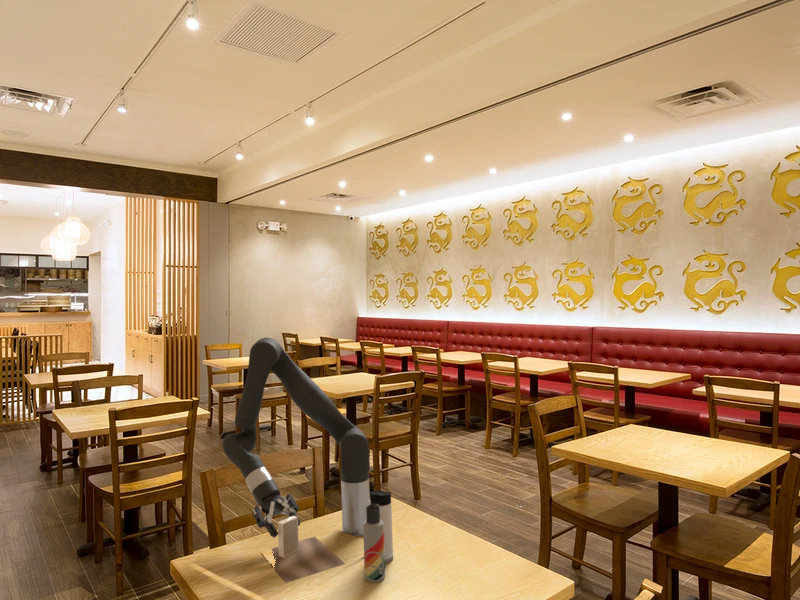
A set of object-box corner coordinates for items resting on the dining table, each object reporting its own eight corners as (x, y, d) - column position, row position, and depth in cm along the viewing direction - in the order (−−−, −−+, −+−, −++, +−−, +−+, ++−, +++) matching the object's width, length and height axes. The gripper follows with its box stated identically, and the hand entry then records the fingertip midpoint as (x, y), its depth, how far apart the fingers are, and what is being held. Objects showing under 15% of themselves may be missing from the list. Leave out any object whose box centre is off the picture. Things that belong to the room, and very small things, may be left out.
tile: (278, 556, 160) (277, 522, 160) (294, 548, 165) (293, 515, 165) (283, 557, 159) (282, 523, 159) (298, 550, 164) (297, 517, 164)
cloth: (314, 539, 173) (314, 536, 173) (345, 567, 154) (345, 563, 154) (259, 555, 163) (259, 551, 163) (285, 586, 145) (285, 582, 145)
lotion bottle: (376, 585, 144) (374, 510, 144) (360, 578, 147) (358, 505, 148) (389, 576, 148) (387, 503, 149) (373, 570, 152) (371, 499, 152)
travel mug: (367, 561, 157) (365, 493, 157) (378, 552, 163) (376, 486, 163) (386, 566, 154) (383, 496, 154) (396, 556, 160) (394, 488, 160)
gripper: (248, 485, 162) (273, 532, 155) (285, 472, 173) (310, 516, 166) (238, 499, 165) (262, 546, 158) (275, 486, 177) (299, 529, 169)
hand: (287, 531), depth 162 cm, fingers open, 8 cm apart
